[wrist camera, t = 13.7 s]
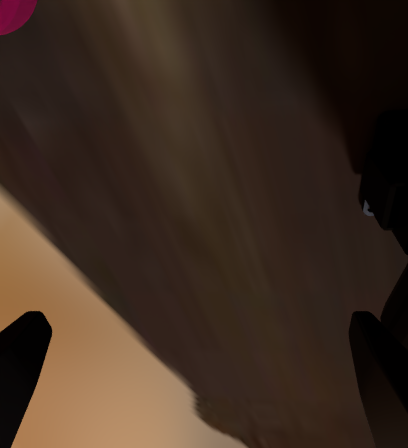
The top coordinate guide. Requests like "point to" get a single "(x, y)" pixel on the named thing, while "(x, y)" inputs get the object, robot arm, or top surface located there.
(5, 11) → the pepper mill
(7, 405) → the robot arm
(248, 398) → the top surface
